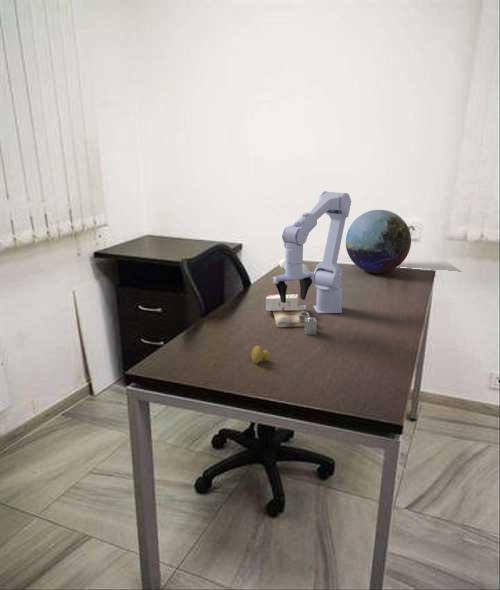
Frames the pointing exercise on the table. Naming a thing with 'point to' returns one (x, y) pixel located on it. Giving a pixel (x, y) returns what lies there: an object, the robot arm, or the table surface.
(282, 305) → the ink cartridge box
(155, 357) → the table surface
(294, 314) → the beige piece
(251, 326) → the table surface
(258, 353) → the knob
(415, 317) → the table surface
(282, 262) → the white rounded lump
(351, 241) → the decorative globe
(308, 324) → the hinge block
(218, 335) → the table surface
